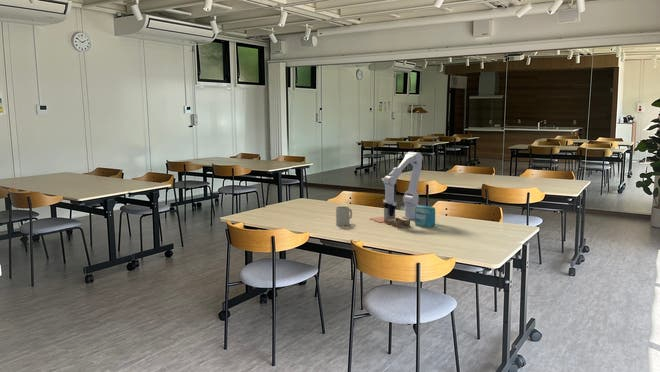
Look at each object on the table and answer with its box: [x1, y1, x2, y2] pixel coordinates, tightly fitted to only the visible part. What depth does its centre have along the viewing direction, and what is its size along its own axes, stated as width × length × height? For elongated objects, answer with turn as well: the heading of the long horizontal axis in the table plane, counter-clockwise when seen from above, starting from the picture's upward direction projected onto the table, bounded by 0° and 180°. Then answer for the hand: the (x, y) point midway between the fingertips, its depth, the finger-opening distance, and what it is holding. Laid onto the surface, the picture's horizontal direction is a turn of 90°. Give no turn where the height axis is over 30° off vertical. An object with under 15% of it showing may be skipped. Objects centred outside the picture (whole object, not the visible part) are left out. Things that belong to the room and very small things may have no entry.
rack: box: [383, 217, 411, 228], centre depth 328 cm, size 10×16×4 cm, turn 22°
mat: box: [369, 216, 397, 224], centre depth 343 cm, size 16×13×1 cm
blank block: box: [383, 208, 396, 220], centre depth 337 cm, size 6×4×7 cm, turn 112°
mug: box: [335, 205, 353, 227], centre depth 331 cm, size 12×8×11 cm
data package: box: [414, 205, 436, 228], centre depth 323 cm, size 12×4×12 cm, turn 49°
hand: (389, 215), depth 337 cm, fingers closed on blank block, 4 cm apart
